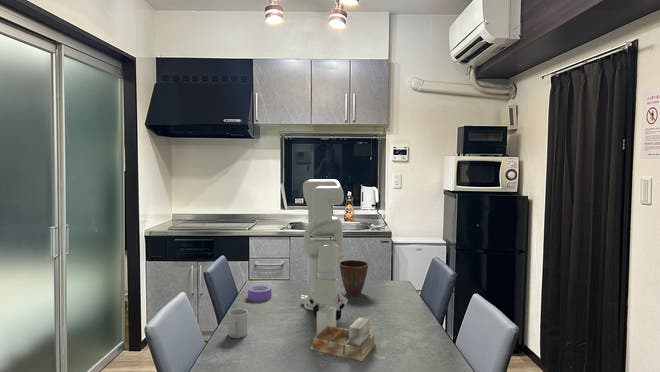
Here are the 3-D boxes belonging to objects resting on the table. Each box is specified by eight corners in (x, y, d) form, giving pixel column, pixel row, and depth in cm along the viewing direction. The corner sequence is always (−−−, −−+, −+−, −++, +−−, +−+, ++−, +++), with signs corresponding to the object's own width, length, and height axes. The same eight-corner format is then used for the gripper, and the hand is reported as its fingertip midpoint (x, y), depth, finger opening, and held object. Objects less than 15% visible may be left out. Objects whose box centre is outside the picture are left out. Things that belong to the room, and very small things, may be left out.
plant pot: (368, 298, 205) (369, 267, 205) (339, 298, 205) (339, 266, 205) (366, 289, 220) (367, 260, 219) (339, 289, 220) (339, 260, 220)
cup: (249, 331, 163) (249, 309, 162) (241, 341, 153) (241, 318, 152) (232, 330, 163) (232, 308, 163) (223, 340, 153) (223, 317, 153)
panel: (316, 334, 160) (316, 311, 160) (327, 325, 169) (327, 304, 169) (325, 336, 159) (326, 313, 158) (336, 327, 168) (336, 305, 167)
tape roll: (276, 297, 205) (276, 287, 205) (257, 303, 197) (257, 293, 196) (261, 292, 213) (261, 283, 213) (242, 297, 204) (242, 288, 204)
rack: (310, 349, 147) (311, 322, 146) (327, 335, 160) (327, 309, 159) (362, 361, 138) (362, 332, 138) (375, 344, 152) (375, 318, 151)
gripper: (303, 274, 163) (303, 317, 163) (343, 279, 156) (343, 324, 156) (312, 271, 170) (312, 312, 170) (351, 275, 163) (350, 318, 163)
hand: (327, 317), depth 163 cm, fingers open, 9 cm apart
